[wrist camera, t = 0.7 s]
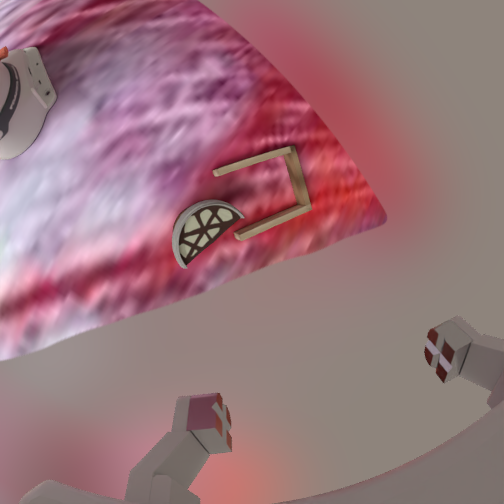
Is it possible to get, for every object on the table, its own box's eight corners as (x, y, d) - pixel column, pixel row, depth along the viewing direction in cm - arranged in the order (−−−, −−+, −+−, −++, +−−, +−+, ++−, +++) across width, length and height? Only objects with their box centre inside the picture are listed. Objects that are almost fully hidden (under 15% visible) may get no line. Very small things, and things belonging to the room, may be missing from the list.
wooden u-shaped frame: (212, 170, 46) (217, 169, 44) (286, 146, 52) (294, 145, 49) (235, 238, 51) (241, 241, 49) (303, 208, 56) (311, 209, 54)
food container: (205, 184, 47) (223, 182, 38) (224, 210, 49) (247, 215, 40) (151, 229, 44) (156, 239, 35) (173, 255, 47) (184, 271, 38)
